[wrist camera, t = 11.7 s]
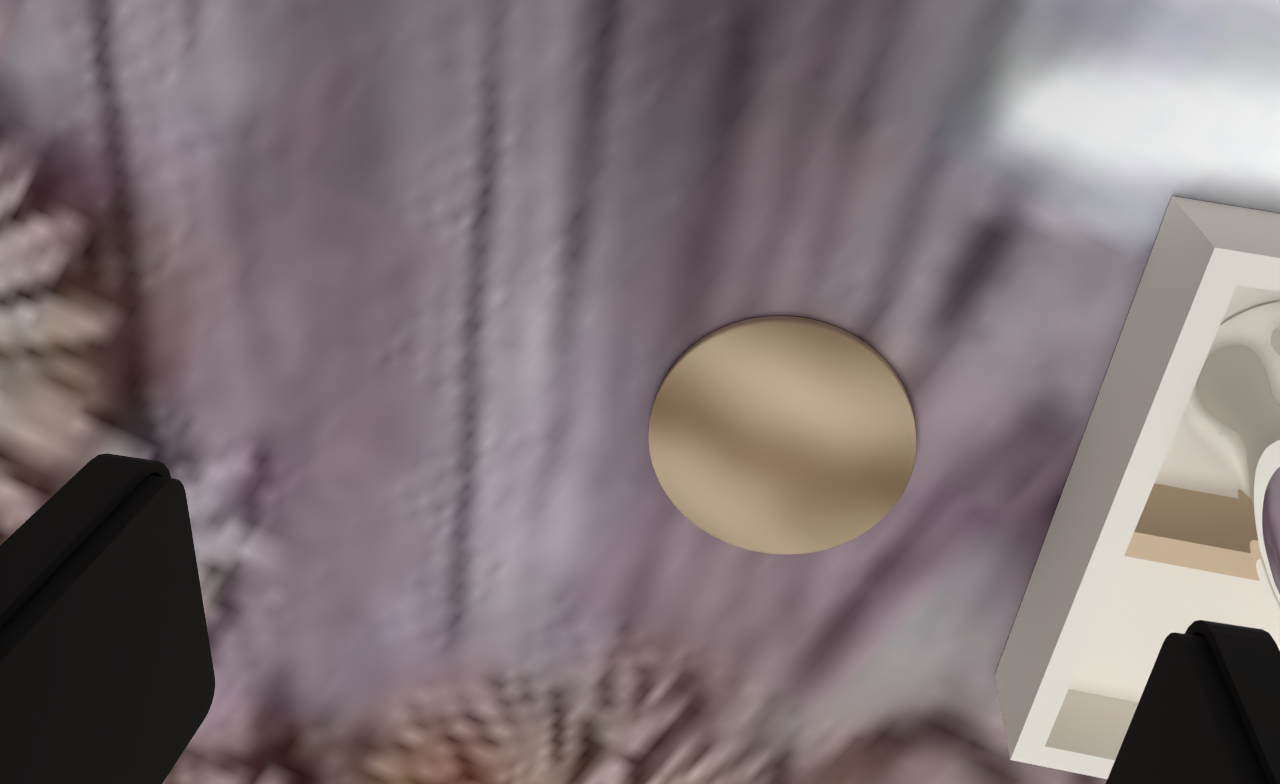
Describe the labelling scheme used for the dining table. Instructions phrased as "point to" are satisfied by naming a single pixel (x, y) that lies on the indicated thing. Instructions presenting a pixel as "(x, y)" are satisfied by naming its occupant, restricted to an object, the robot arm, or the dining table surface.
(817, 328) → the cork trivet
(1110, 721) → the cream divided tray
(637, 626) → the dining table surface
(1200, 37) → the dining table surface
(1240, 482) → the beer glass
